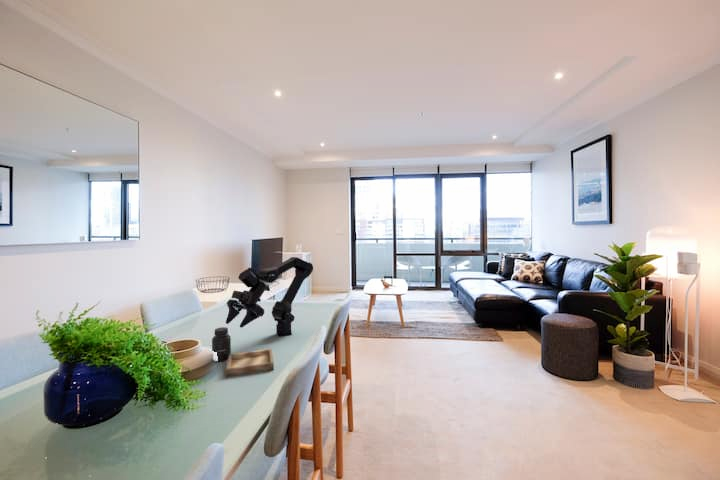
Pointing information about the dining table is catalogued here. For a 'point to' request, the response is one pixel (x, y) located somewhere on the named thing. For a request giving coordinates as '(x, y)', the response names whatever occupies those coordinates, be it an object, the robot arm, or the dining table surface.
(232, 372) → the oak tray
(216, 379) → the dining table surface
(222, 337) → the supplement bottle
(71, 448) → the dining table surface
